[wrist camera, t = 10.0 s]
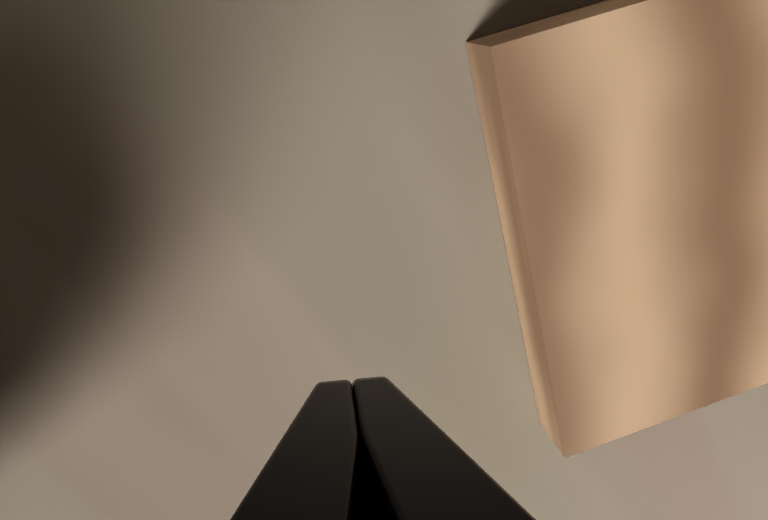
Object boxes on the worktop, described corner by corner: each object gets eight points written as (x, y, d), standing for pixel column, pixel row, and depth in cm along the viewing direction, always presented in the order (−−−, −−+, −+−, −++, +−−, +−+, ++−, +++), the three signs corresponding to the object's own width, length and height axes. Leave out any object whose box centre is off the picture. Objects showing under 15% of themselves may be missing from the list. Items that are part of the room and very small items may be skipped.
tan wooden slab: (540, 425, 26) (565, 457, 24) (465, 42, 20) (490, 46, 18) (825, 321, 27) (869, 345, 25) (829, -66, 21) (886, -71, 20)
